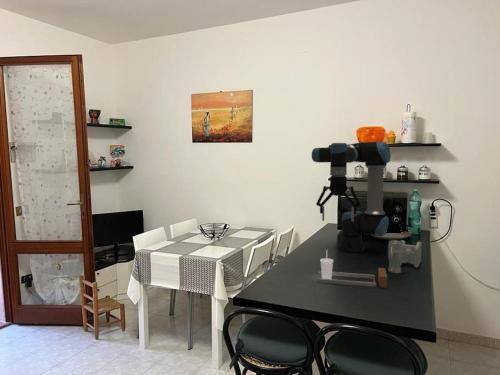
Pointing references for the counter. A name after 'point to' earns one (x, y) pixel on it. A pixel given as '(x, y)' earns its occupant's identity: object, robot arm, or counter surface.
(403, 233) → the dinner plate
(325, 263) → the beverage cup
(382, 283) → the channel
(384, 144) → the robot arm
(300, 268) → the counter surface
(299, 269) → the counter surface
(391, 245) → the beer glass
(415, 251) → the cable organizer
